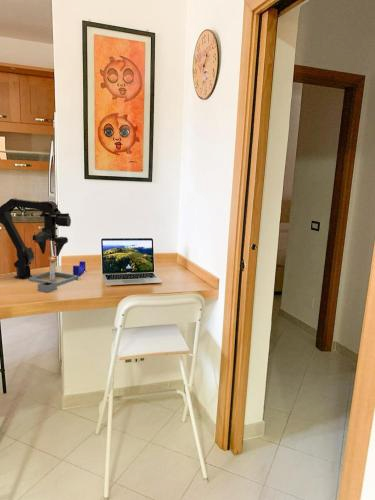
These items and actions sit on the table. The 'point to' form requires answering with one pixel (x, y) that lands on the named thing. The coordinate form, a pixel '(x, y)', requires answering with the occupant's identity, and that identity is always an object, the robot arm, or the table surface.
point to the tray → (57, 274)
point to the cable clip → (79, 268)
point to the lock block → (47, 286)
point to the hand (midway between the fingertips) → (50, 254)
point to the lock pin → (52, 268)
